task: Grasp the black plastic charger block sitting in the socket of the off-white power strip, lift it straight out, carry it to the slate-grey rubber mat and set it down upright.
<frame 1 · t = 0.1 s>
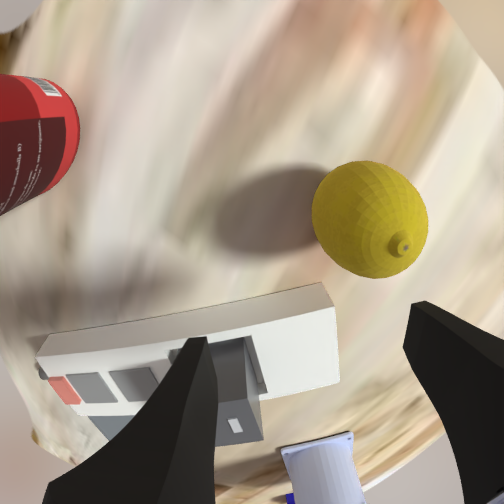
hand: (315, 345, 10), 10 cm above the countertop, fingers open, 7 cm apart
strip: (181, 352, 23), on the countertop
mat: (134, 420, 26), on the countertop
canned food: (35, 135, 16), on the countertop
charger: (219, 363, 21), point 2 cm above the countertop, touching strip
lemon: (340, 196, 19), on the countertop
cable holder: (299, 497, 37), on the countertop
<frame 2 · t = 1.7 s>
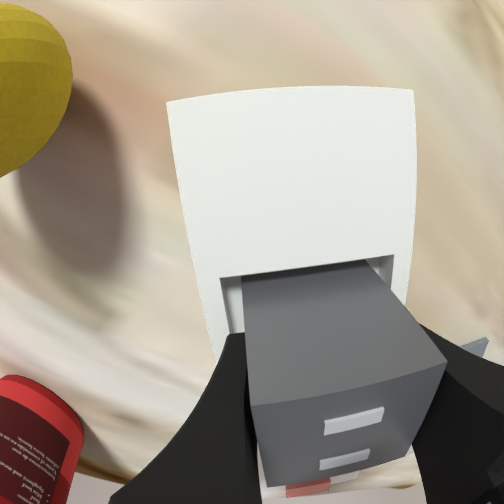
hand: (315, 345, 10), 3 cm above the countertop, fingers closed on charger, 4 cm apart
strip: (299, 347, 14), on the countertop
canned food: (40, 408, 16), on the countertop
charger: (306, 319, 12), point 2 cm above the countertop, touching gripper, strip
lemon: (49, 94, 9), on the countertop
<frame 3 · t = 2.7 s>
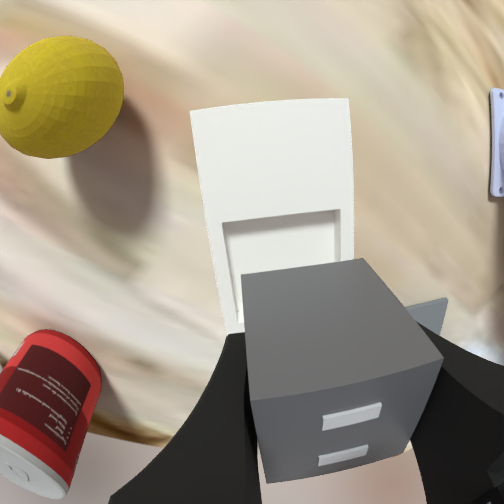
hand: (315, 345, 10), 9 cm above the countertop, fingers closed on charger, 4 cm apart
strip: (281, 291, 19), on the countertop
mat: (383, 360, 23), on the countertop
canned food: (63, 363, 21), on the countertop
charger: (305, 317, 12), point 7 cm above the countertop, touching gripper
lemon: (97, 100, 14), on the countertop
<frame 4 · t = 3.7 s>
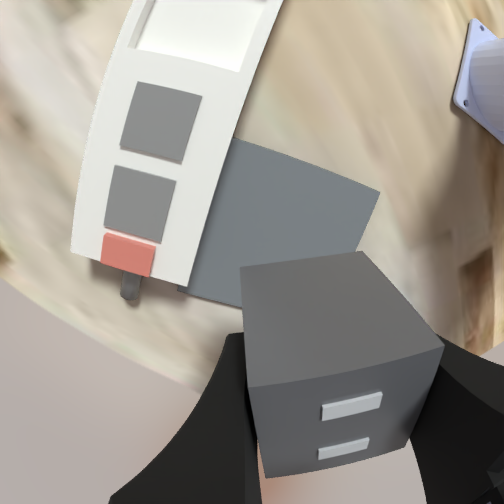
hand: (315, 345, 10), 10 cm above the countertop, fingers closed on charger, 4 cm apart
strip: (188, 71, 15), on the countertop
mat: (277, 239, 19), on the countertop
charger: (305, 311, 12), point 8 cm above the countertop, touching gripper
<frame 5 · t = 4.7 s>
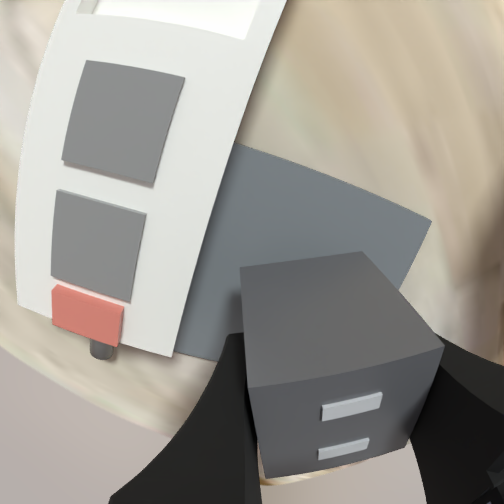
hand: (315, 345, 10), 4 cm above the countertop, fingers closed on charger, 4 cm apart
strip: (169, 47, 10), on the countertop
mat: (295, 285, 14), on the countertop
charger: (305, 311, 12), point 2 cm above the countertop, touching gripper
when the fingers open (3 cm above the countertop, at t = 5.5 s): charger stays where it is, resting on mat.
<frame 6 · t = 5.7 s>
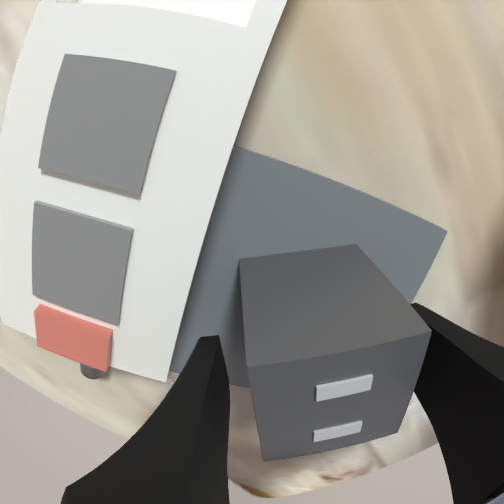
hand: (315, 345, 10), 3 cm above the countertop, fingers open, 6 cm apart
strip: (161, 39, 8), on the countertop
mat: (300, 301, 13), on the countertop
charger: (301, 302, 12), resting on mat
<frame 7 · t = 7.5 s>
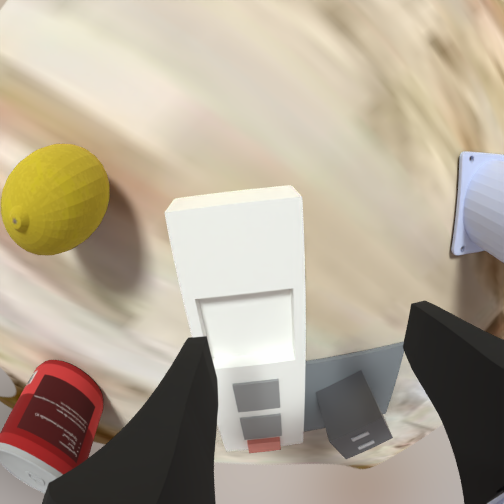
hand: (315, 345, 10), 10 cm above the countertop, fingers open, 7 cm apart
strip: (250, 339, 23), on the countertop
mat: (345, 391, 26), on the countertop
canned food: (70, 385, 25), on the countertop
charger: (346, 393, 26), resting on mat
lemon: (88, 181, 18), on the countertop
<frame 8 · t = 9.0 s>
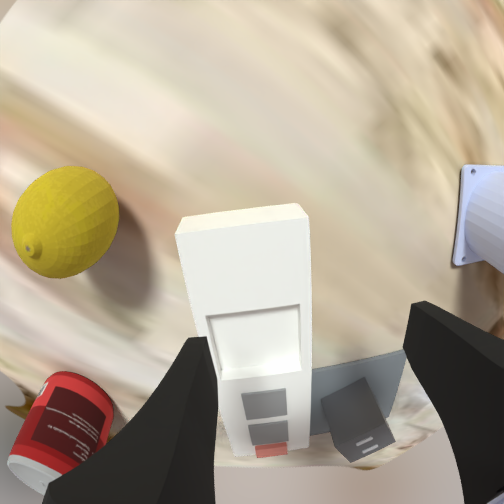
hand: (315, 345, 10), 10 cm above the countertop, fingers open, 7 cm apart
strip: (258, 350, 23), on the countertop
mat: (349, 397, 27), on the countertop
canned food: (80, 395, 25), on the countertop
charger: (350, 399, 26), resting on mat
lemon: (96, 199, 18), on the countertop
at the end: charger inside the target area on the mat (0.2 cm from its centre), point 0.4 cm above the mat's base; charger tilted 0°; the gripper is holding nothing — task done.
